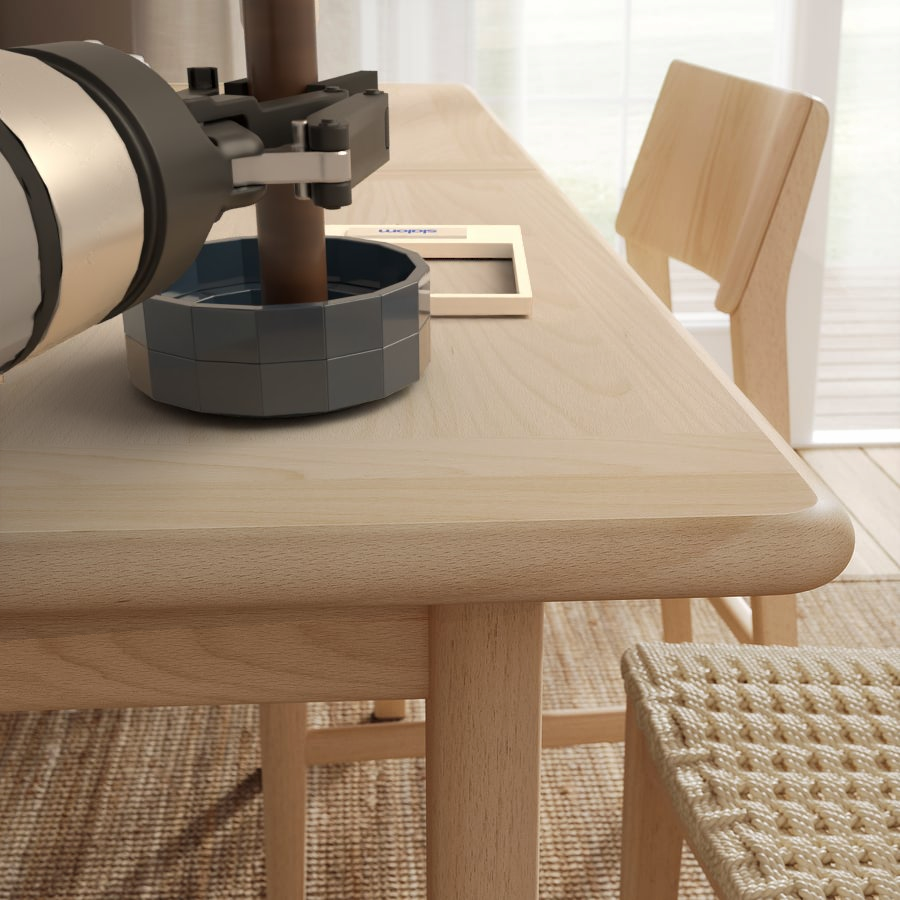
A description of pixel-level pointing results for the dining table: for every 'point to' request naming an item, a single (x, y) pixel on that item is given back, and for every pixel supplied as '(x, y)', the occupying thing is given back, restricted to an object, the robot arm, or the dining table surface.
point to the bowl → (283, 333)
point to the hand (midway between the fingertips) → (332, 101)
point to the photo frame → (458, 245)
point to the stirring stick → (278, 212)
